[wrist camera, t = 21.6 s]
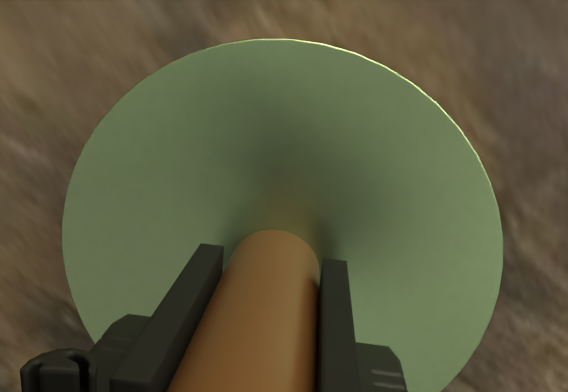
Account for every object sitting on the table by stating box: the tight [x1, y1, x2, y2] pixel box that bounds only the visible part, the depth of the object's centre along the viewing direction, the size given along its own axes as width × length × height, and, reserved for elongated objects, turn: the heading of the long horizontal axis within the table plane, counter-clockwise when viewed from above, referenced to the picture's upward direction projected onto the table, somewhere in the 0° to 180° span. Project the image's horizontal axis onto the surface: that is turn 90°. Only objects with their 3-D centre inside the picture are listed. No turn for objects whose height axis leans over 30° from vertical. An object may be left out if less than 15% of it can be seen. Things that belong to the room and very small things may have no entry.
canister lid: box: [62, 39, 503, 392], centre depth 13 cm, size 16×16×10 cm
